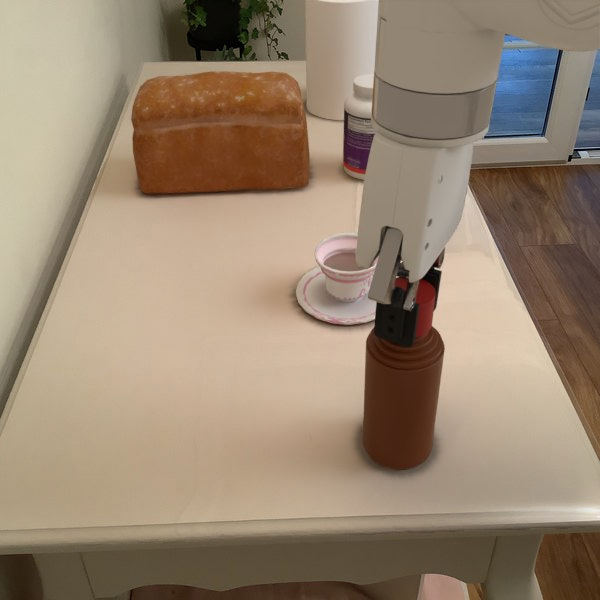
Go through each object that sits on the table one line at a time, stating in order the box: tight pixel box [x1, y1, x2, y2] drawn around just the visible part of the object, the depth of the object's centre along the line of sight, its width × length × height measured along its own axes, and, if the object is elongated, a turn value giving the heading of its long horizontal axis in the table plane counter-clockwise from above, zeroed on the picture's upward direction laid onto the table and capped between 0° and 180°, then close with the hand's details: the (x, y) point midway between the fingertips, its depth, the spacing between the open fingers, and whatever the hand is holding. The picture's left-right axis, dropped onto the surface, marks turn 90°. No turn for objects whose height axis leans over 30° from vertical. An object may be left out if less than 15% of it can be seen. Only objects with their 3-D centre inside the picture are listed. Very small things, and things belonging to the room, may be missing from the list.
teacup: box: [295, 231, 379, 326], centre depth 79 cm, size 12×12×6 cm
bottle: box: [362, 325, 446, 470], centre depth 57 cm, size 6×6×17 cm
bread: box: [130, 70, 310, 195], centre depth 101 cm, size 14×26×16 cm, turn 93°
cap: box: [394, 276, 436, 338], centre depth 53 cm, size 4×4×3 cm
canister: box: [304, 0, 379, 121], centre depth 121 cm, size 14×14×20 cm
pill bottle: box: [342, 74, 377, 180], centre depth 101 cm, size 8×8×14 cm
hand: (405, 321), depth 54 cm, fingers closed on cap, 4 cm apart
